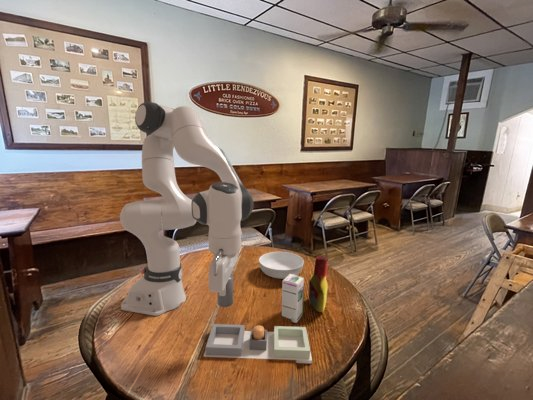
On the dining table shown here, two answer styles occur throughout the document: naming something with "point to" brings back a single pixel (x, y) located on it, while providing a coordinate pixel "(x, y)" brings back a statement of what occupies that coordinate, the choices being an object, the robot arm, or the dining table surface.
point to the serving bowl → (280, 264)
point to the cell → (227, 294)
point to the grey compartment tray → (259, 343)
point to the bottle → (318, 284)
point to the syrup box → (292, 297)
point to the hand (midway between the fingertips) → (225, 288)
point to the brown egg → (258, 332)
